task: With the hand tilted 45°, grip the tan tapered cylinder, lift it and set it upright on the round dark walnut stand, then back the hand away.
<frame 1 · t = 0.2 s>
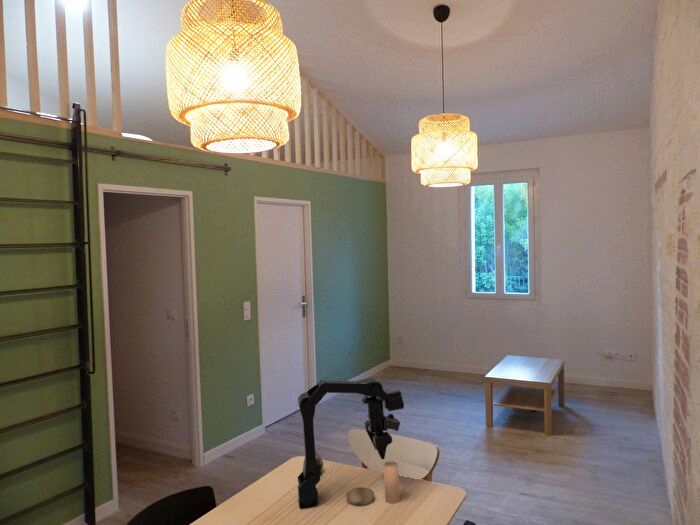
hand: (379, 454, 194), 15 cm above the table, tool pointing down, fingers open, 9 cm apart
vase: (315, 473, 214), on the table
tan tapered cylinder: (392, 499, 188), on the table
stand: (360, 499, 190), on the table
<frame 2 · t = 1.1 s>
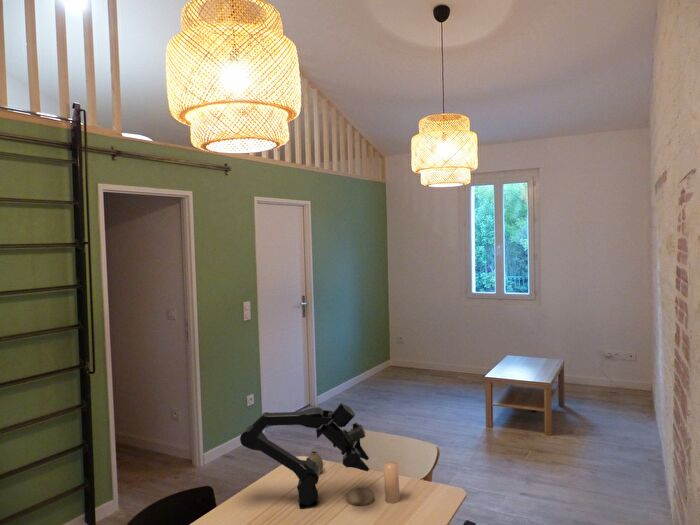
hand: (368, 464, 188), 13 cm above the table, tool tilted 45°, fingers open, 9 cm apart
nothing on the table moved.
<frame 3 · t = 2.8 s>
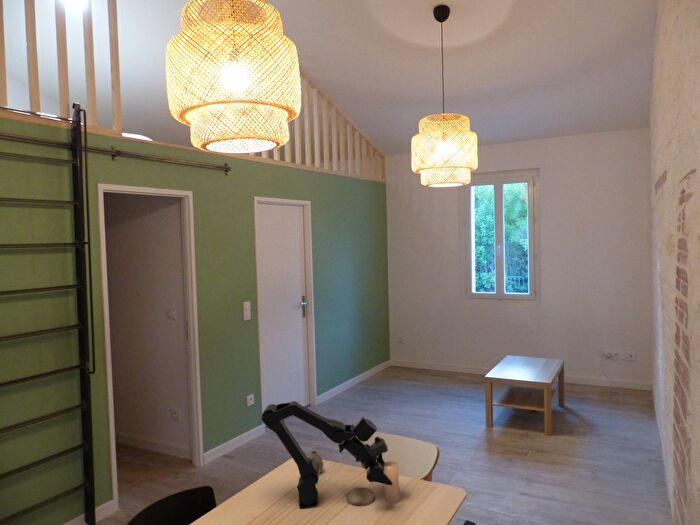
hand: (391, 478, 188), 8 cm above the table, tool tilted 45°, fingers open, 9 cm apart
nothing on the table moved.
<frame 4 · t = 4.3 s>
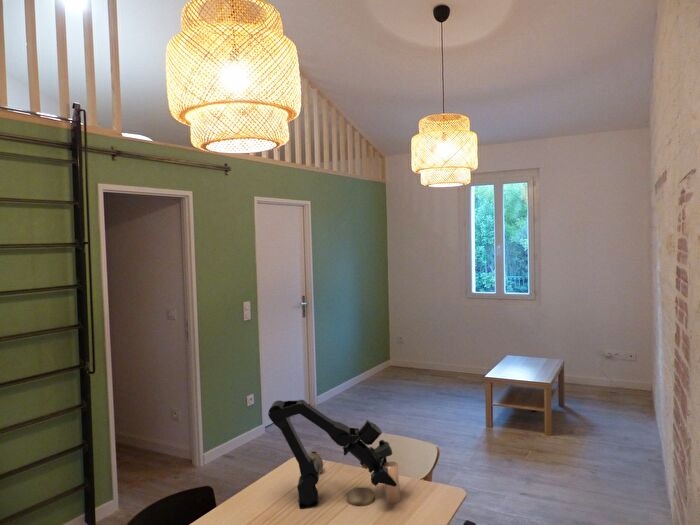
hand: (395, 481, 188), 7 cm above the table, tool tilted 45°, fingers closed on tan tapered cylinder, 5 cm apart
tan tapered cylinder: (392, 499, 188), on the table, touching gripper
everything else where it was.
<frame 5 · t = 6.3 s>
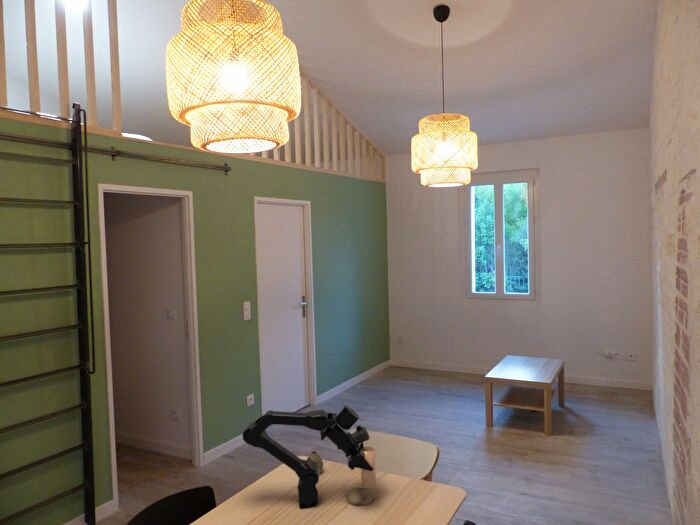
hand: (371, 466, 189), 12 cm above the table, tool tilted 45°, fingers closed on tan tapered cylinder, 5 cm apart
tan tapered cylinder: (368, 484, 189), point 6 cm above the table, touching gripper
everything else where it was.
when the fingers open (9 cm above the table, at t = 8.2 s): tan tapered cylinder stays where it is, resting on stand.
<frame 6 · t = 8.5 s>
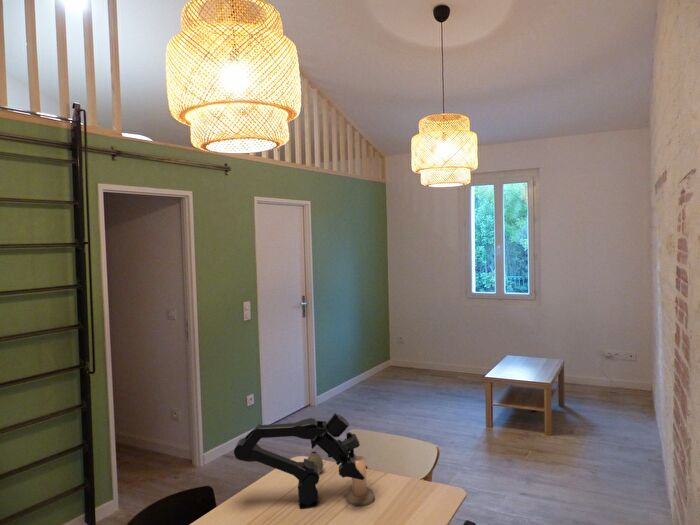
hand: (362, 473, 190), 10 cm above the table, tool tilted 45°, fingers open, 9 cm apart
tan tapered cylinder: (360, 493, 190), point 2 cm above the table, touching stand
everything else where it was.
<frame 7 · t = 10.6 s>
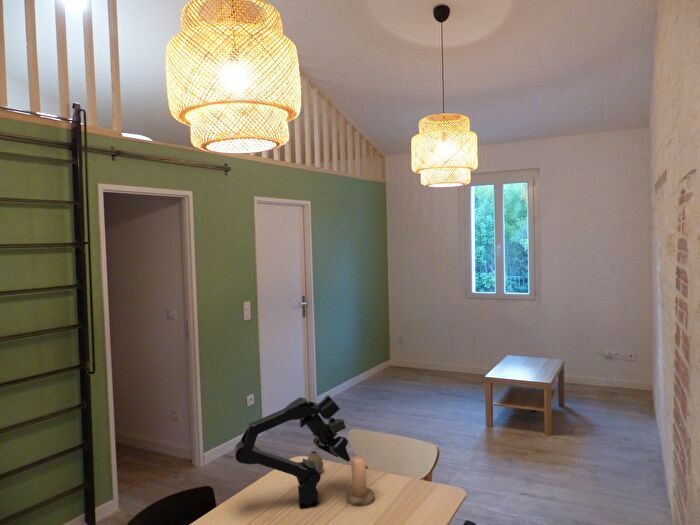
hand: (343, 458, 192), 14 cm above the table, tool tilted 35°, fingers open, 9 cm apart
nothing on the table moved.
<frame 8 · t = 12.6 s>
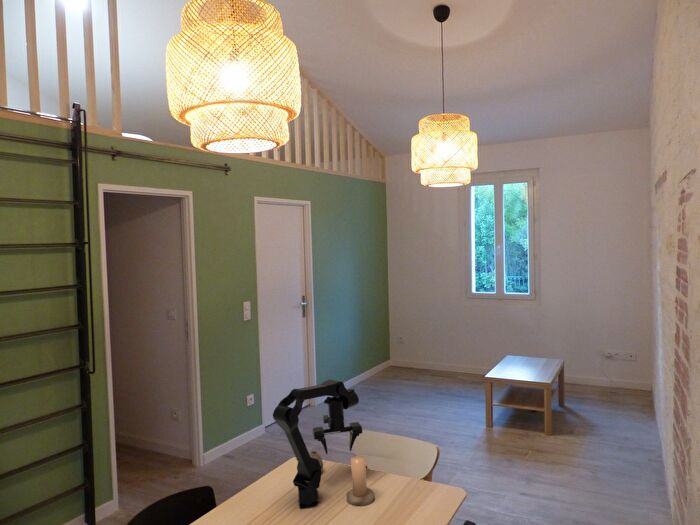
hand: (338, 452, 201), 13 cm above the table, tool pointing down, fingers open, 9 cm apart
nothing on the table moved.
at the end: tan tapered cylinder 0.1 cm off-centre on the stand, point 2.0 cm above the stand's base; tan tapered cylinder tilted 0°; the gripper is holding nothing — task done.
